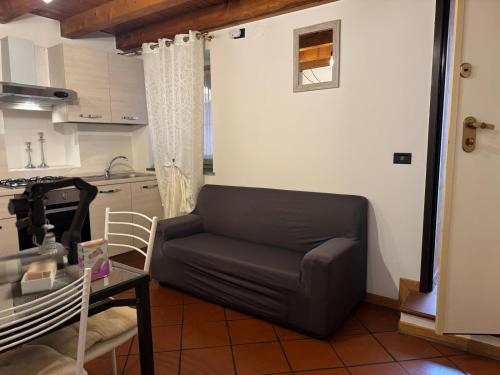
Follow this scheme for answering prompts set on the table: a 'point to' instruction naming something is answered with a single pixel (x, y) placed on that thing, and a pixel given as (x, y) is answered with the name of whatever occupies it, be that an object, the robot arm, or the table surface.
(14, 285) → the table surface
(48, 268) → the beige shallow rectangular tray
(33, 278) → the terracotta block
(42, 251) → the french press
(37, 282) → the box
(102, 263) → the candy bar box
